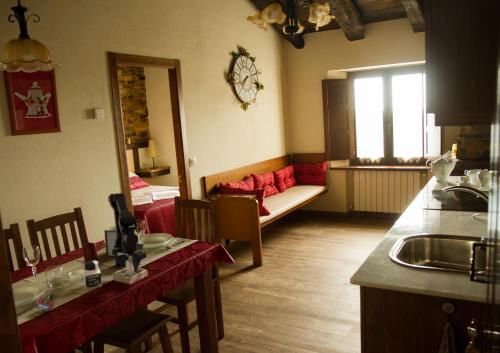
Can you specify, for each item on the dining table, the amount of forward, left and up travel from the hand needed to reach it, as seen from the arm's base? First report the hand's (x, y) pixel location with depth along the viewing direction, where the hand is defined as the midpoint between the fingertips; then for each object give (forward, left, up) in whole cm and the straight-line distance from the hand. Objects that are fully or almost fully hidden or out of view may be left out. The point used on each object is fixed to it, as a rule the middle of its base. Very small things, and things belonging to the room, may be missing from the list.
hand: (129, 269), depth 211 cm
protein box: (-15, +38, -5) cm, 41 cm away
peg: (0, 0, -4) cm, 4 cm away
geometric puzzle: (-27, -33, -5) cm, 43 cm away
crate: (0, 0, -4) cm, 4 cm away
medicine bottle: (-16, -8, -4) cm, 18 cm away
